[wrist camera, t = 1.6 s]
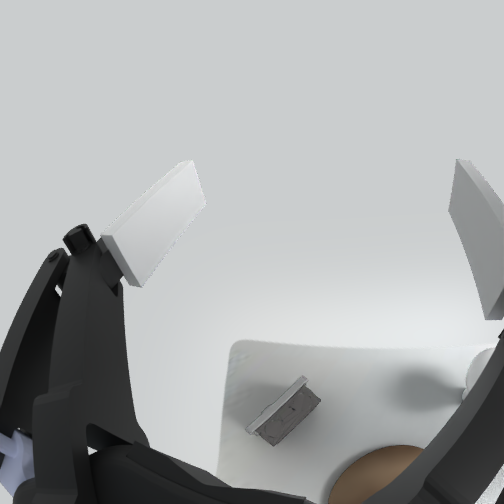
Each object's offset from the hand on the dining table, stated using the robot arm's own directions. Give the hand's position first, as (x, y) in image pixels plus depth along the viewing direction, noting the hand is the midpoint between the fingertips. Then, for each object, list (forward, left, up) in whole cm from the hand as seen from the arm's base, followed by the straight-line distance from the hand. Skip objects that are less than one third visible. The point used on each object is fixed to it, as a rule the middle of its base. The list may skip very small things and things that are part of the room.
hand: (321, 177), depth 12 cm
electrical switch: (+2, +8, -33) cm, 34 cm away
